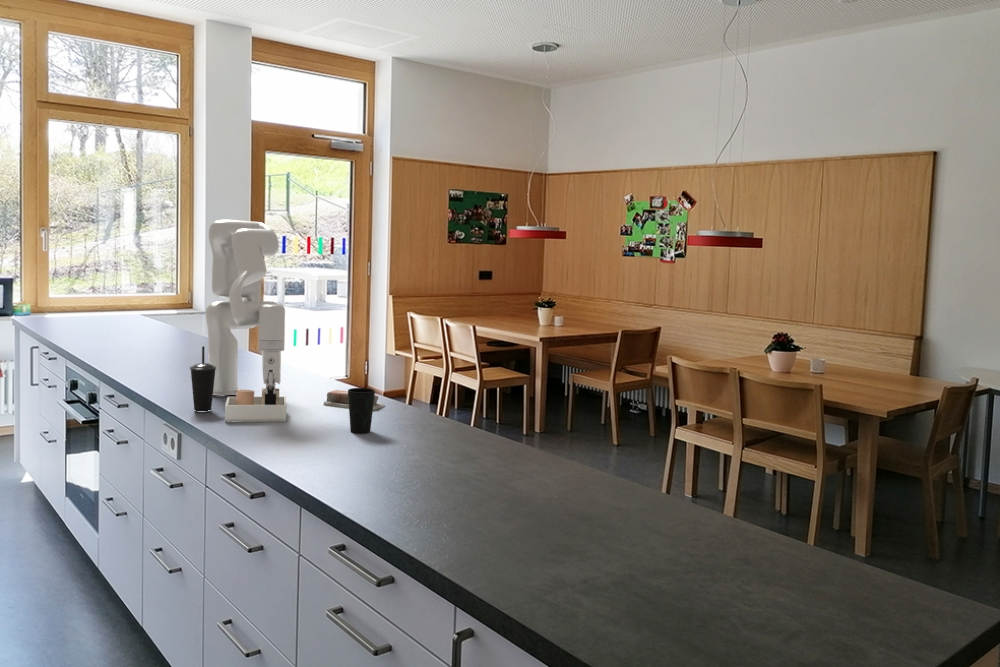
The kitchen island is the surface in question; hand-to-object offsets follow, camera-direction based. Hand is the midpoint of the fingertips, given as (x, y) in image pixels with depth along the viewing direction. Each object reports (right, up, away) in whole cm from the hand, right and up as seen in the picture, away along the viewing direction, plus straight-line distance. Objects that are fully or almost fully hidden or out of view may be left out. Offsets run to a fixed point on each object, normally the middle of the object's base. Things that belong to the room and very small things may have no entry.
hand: (270, 404), depth 246 cm
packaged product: (+21, -3, +23) cm, 32 cm away
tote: (-4, -4, -1) cm, 6 cm away
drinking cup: (-22, -3, +4) cm, 22 cm away
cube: (0, -1, 0) cm, 1 cm away
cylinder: (-7, -3, -1) cm, 8 cm away
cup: (+29, -7, -13) cm, 33 cm away
